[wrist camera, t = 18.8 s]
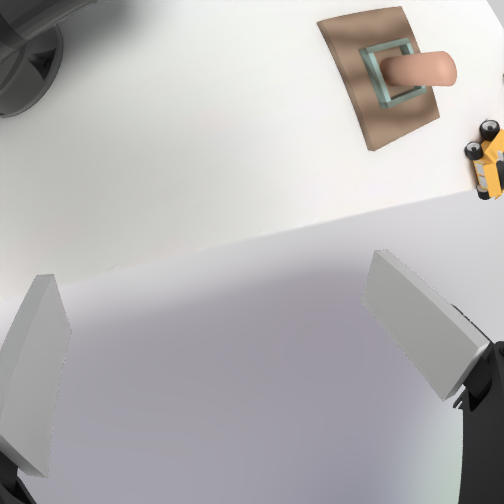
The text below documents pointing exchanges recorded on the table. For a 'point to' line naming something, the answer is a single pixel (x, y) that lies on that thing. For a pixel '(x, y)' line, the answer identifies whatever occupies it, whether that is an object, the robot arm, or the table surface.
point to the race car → (489, 160)
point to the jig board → (378, 73)
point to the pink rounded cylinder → (419, 69)
